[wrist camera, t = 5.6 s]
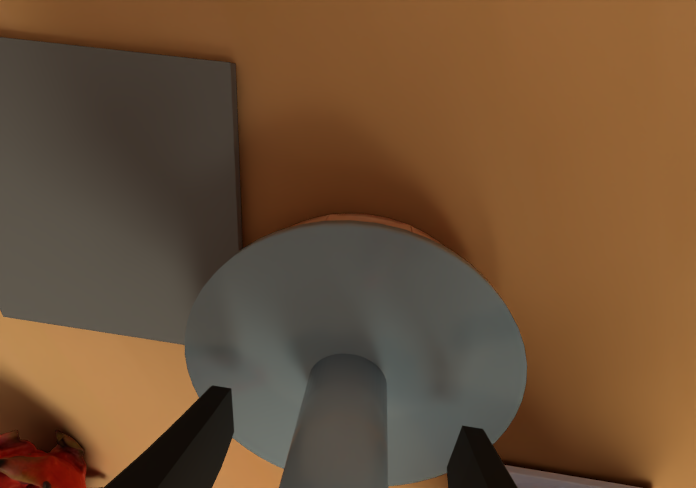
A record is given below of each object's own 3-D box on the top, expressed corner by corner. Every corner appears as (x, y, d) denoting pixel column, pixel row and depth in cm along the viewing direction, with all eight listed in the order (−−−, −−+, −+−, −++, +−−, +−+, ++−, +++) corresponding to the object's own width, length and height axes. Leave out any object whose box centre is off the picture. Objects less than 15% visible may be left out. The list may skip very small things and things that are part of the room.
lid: (563, 229, 9) (720, 341, 5) (484, 486, 14) (527, 651, 10) (161, 211, 10) (3, 289, 6) (219, 456, 15) (156, 594, 11)
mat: (235, 63, 10) (230, 62, 10) (246, 347, 15) (243, 353, 15) (-105, 26, 11) (-122, 23, 11) (12, 311, 16) (3, 316, 16)
